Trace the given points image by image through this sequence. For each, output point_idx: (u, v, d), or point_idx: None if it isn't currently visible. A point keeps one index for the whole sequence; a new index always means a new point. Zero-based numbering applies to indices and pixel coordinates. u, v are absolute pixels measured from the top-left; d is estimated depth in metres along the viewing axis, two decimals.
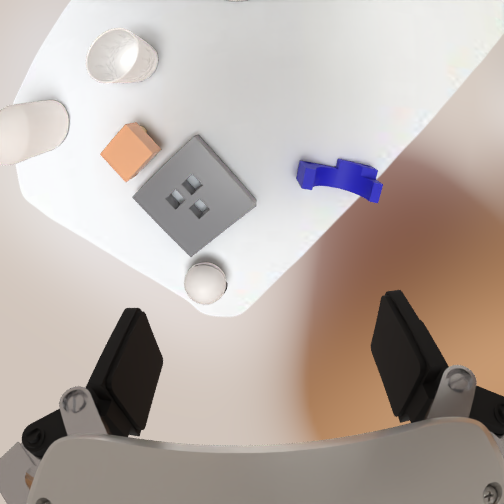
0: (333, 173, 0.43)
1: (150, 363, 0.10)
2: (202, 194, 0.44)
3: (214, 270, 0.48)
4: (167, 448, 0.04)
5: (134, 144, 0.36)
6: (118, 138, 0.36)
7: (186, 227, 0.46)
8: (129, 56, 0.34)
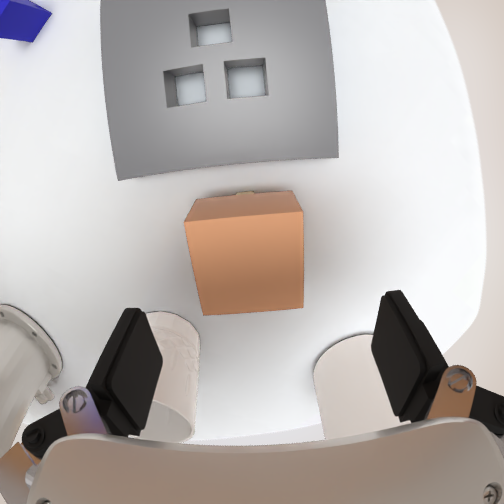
0: None
1: (150, 363, 0.10)
2: (178, 52, 0.14)
3: None
4: (167, 448, 0.04)
5: (212, 270, 0.16)
6: (239, 304, 0.17)
7: (272, 9, 0.13)
8: None
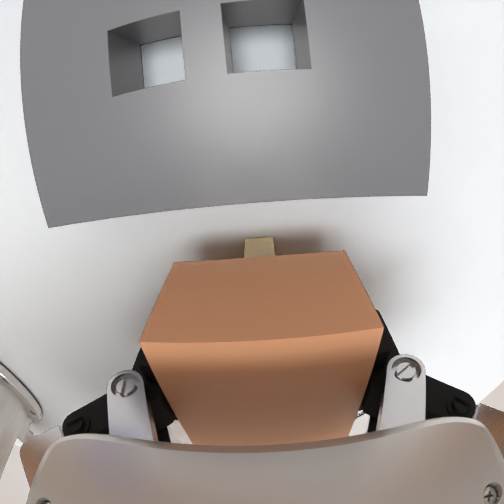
0: None
1: None
2: None
3: None
4: (167, 448, 0.04)
5: (202, 407, 0.08)
6: (249, 439, 0.09)
7: None
8: None
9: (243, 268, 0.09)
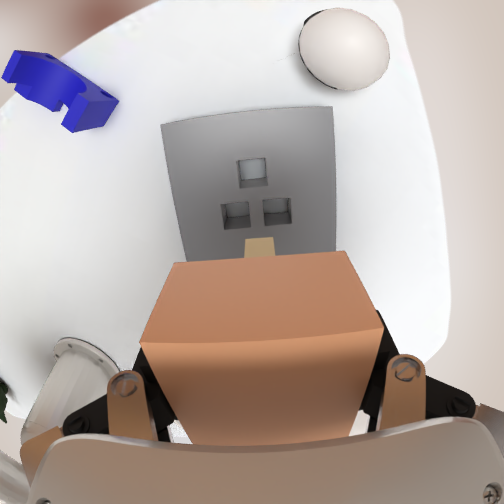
0: (65, 94, 0.21)
1: None
2: (230, 191, 0.24)
3: (306, 58, 0.18)
4: (167, 448, 0.04)
5: (202, 407, 0.08)
6: (249, 439, 0.09)
7: (296, 159, 0.23)
8: None
9: (243, 268, 0.09)
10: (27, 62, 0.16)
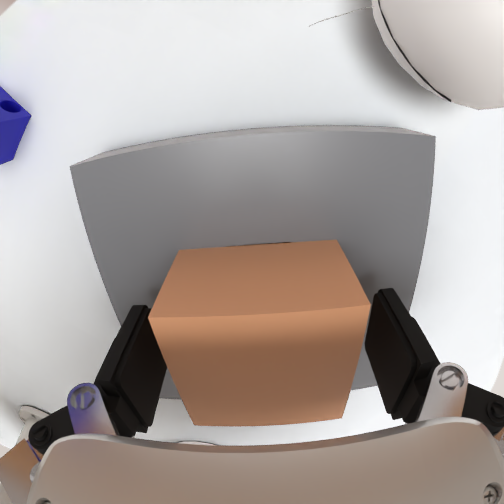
0: None
1: (157, 360, 0.11)
2: None
3: (401, 21, 0.06)
4: (167, 448, 0.04)
5: (204, 383, 0.09)
6: (247, 418, 0.10)
7: (355, 244, 0.11)
8: None
9: (243, 254, 0.10)
10: None
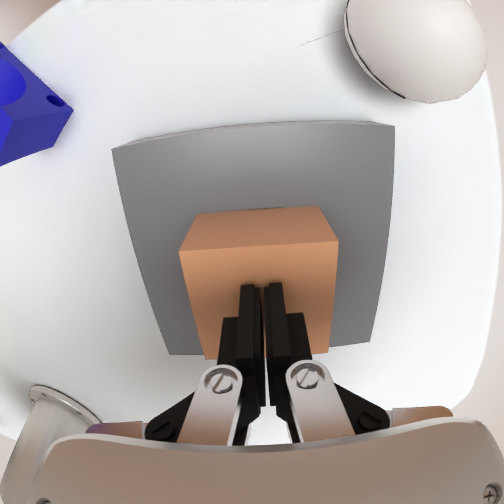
0: (6, 99, 0.12)
1: None
2: None
3: (362, 41, 0.09)
4: (167, 448, 0.04)
5: (216, 310, 0.12)
6: None
7: (333, 209, 0.14)
8: None
9: (247, 215, 0.14)
10: None
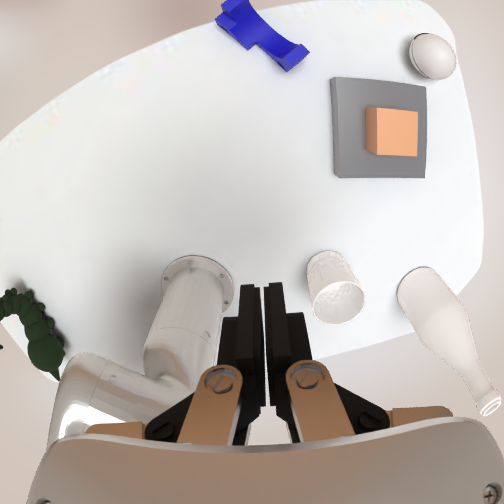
0: (263, 40, 0.31)
1: None
2: None
3: (417, 58, 0.28)
4: (167, 448, 0.04)
5: (384, 130, 0.31)
6: (392, 150, 0.32)
7: None
8: None
9: None
10: (245, 4, 0.26)
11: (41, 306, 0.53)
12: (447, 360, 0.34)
